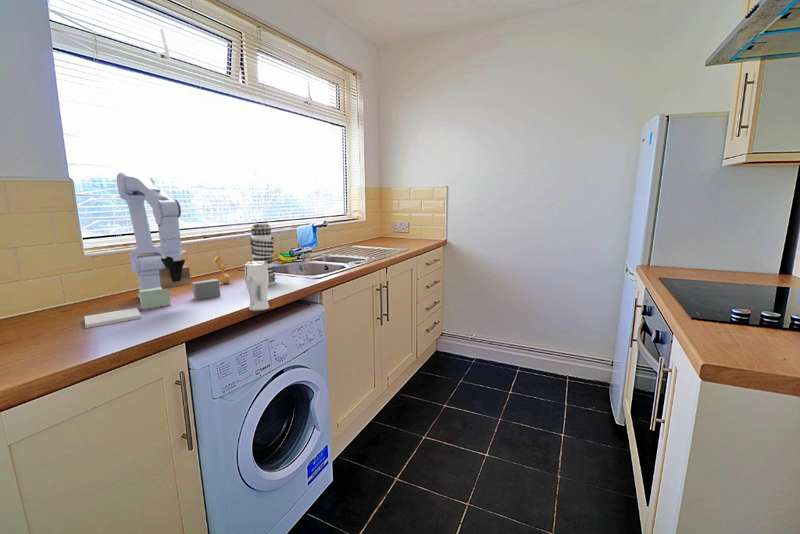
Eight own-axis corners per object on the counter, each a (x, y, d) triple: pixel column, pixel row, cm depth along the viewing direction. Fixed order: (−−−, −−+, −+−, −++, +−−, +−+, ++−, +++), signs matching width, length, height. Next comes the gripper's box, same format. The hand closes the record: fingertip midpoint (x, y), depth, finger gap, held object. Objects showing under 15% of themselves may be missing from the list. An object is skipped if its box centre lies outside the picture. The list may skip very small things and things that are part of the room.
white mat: (84, 319, 113) (84, 316, 113) (137, 310, 121) (136, 307, 121) (85, 328, 105) (85, 324, 105) (141, 318, 114) (140, 315, 113)
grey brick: (194, 298, 136) (192, 282, 135) (217, 294, 141) (216, 278, 140) (196, 300, 133) (194, 283, 132) (220, 296, 138) (218, 280, 137)
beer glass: (264, 304, 127) (261, 260, 125) (274, 308, 122) (271, 263, 120) (244, 308, 123) (240, 263, 120) (253, 313, 118) (249, 265, 115)
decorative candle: (261, 280, 163) (256, 222, 158) (280, 281, 161) (276, 222, 156) (248, 285, 154) (243, 224, 149) (269, 286, 152) (264, 224, 148)
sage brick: (141, 307, 125) (138, 290, 124) (169, 303, 130) (166, 286, 129) (142, 310, 122) (140, 292, 121) (170, 305, 127) (168, 288, 126)
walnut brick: (160, 287, 121) (158, 268, 120) (188, 283, 126) (186, 265, 125) (162, 289, 118) (160, 270, 117) (191, 285, 124) (189, 267, 122)
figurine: (225, 285, 154) (222, 256, 152) (211, 285, 154) (208, 256, 152) (235, 281, 162) (232, 253, 160) (222, 281, 162) (219, 253, 160)
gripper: (189, 239, 117) (194, 282, 119) (179, 235, 127) (184, 275, 130) (163, 241, 112) (169, 285, 115) (154, 237, 123) (160, 278, 125)
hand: (175, 280), depth 122 cm, fingers closed on walnut brick, 3 cm apart
